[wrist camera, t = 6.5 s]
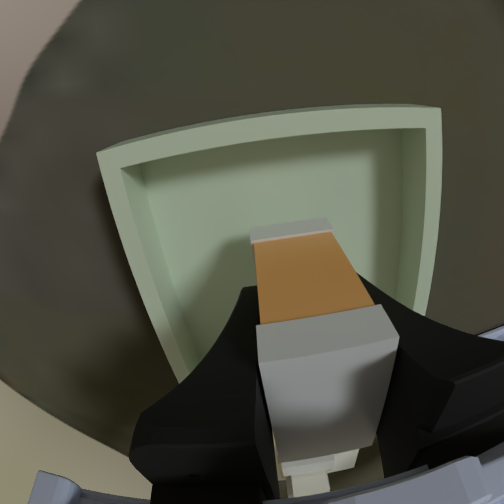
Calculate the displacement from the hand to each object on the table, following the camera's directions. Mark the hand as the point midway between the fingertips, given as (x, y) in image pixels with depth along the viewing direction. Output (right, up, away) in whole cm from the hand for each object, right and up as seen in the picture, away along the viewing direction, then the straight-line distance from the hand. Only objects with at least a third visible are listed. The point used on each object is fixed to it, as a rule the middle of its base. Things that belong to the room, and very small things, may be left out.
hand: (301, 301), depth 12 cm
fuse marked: (0, +1, +2) cm, 2 cm away
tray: (0, +2, +4) cm, 4 cm away
